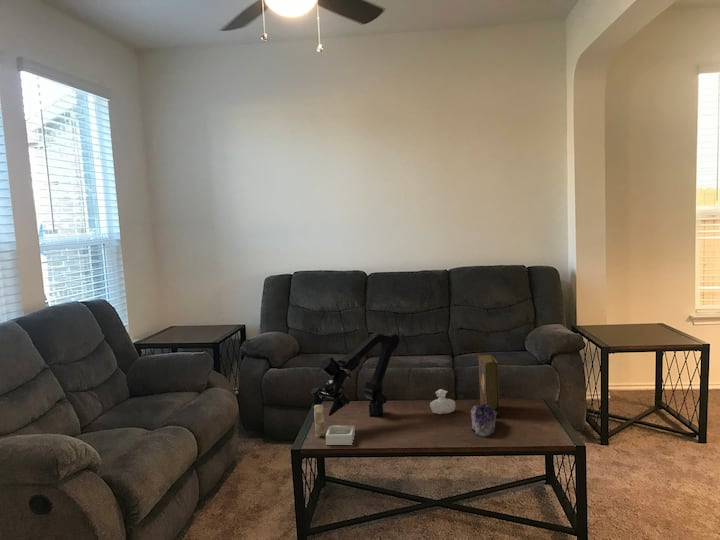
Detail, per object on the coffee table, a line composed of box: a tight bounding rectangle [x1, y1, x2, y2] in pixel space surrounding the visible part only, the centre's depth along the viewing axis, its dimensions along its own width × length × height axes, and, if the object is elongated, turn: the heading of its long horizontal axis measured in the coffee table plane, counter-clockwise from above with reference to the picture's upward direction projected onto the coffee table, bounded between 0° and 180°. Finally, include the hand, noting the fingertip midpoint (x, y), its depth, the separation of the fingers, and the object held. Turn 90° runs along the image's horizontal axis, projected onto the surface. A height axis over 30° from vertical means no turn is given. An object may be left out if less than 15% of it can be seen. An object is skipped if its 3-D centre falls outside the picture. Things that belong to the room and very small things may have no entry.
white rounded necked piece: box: [429, 388, 456, 415], centre depth 251 cm, size 12×8×11 cm
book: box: [477, 353, 501, 417], centre depth 247 cm, size 16×6×25 cm, turn 179°
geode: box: [470, 404, 498, 439], centre depth 227 cm, size 20×12×10 cm, turn 169°
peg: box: [313, 404, 326, 437], centre depth 229 cm, size 4×4×13 cm
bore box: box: [325, 424, 356, 446], centre depth 223 cm, size 11×11×4 cm
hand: (321, 413), depth 230 cm, fingers open, 9 cm apart
